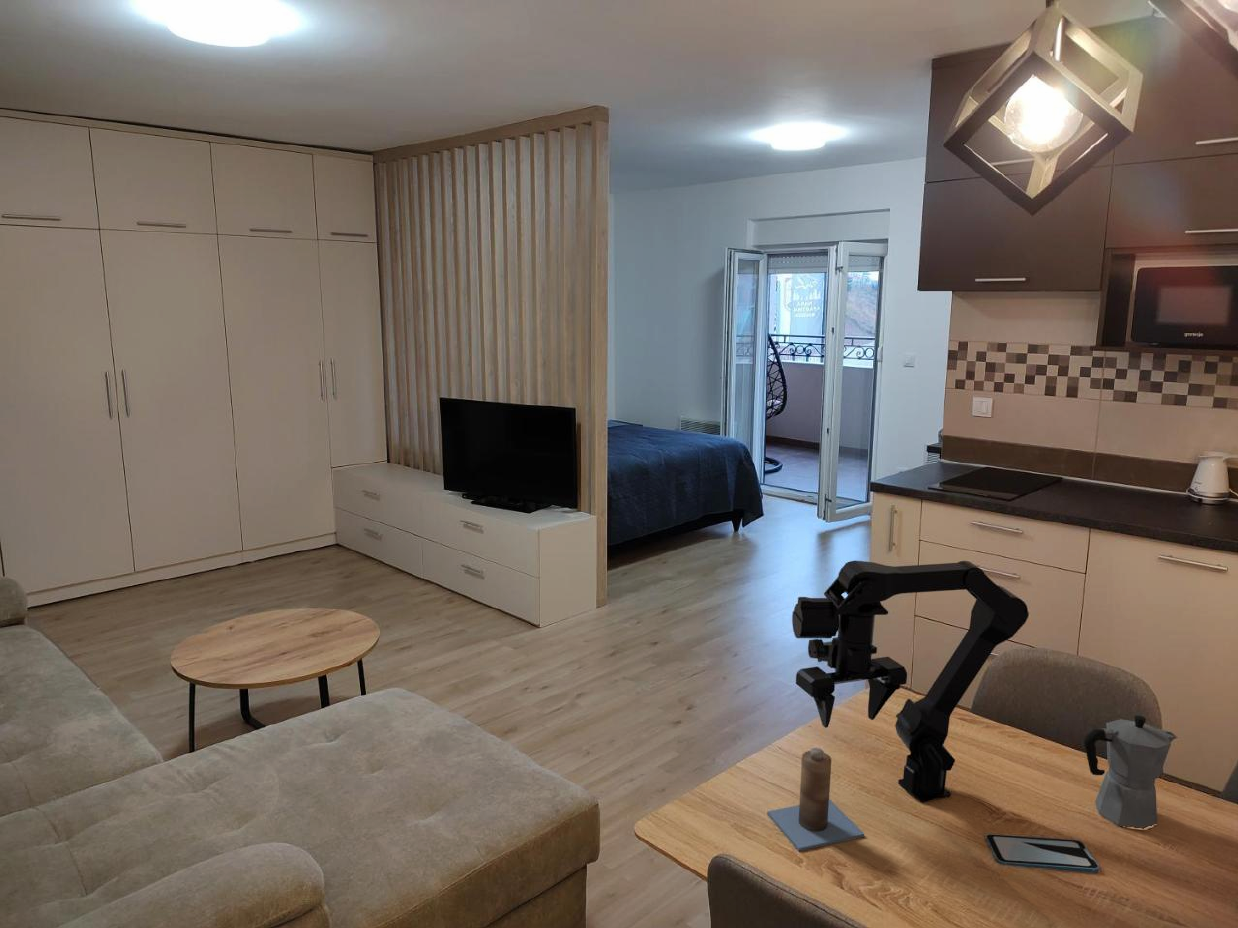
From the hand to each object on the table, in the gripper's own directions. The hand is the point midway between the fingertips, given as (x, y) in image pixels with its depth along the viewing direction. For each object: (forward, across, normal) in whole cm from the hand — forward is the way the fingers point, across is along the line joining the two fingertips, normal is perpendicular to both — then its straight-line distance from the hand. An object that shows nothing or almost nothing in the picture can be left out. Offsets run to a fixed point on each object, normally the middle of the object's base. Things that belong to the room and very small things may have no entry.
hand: (848, 722), depth 146 cm
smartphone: (+14, -20, +24) cm, 34 cm away
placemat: (+13, +10, +7) cm, 18 cm away
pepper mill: (+12, +10, +7) cm, 18 cm away
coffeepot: (+13, -41, +20) cm, 48 cm away
